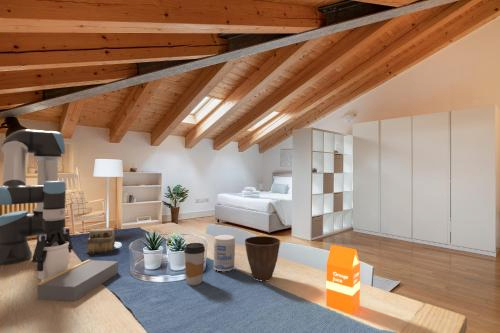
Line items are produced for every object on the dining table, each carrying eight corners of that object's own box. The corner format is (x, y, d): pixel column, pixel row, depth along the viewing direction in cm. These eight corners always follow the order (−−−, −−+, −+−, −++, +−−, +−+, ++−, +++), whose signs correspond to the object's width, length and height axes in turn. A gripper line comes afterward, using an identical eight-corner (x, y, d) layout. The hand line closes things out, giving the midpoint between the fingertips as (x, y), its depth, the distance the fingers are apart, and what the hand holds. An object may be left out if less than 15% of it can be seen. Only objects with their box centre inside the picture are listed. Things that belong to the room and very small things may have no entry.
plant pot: (238, 280, 115) (238, 242, 115) (254, 269, 129) (254, 234, 129) (271, 288, 108) (271, 247, 108) (284, 275, 122) (285, 238, 122)
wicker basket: (88, 247, 160) (88, 227, 160) (115, 245, 165) (115, 226, 165) (81, 255, 146) (82, 233, 146) (111, 253, 150) (111, 232, 150)
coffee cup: (208, 280, 116) (209, 244, 116) (196, 288, 108) (197, 249, 108) (192, 276, 119) (192, 241, 119) (179, 284, 112) (179, 246, 112)
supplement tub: (216, 274, 122) (217, 240, 122) (211, 267, 131) (211, 235, 131) (237, 271, 126) (237, 238, 126) (230, 264, 135) (231, 233, 135)
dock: (88, 271, 124) (88, 259, 124) (118, 272, 123) (118, 260, 123) (37, 298, 98) (37, 283, 98) (74, 301, 97) (74, 285, 97)
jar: (52, 287, 108) (53, 248, 108) (30, 284, 110) (30, 246, 110) (75, 276, 118) (75, 241, 118) (54, 274, 120) (54, 239, 120)
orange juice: (335, 297, 101) (335, 242, 101) (360, 305, 96) (360, 247, 96) (325, 305, 95) (326, 247, 95) (351, 314, 90) (352, 252, 90)
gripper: (38, 224, 102) (37, 285, 102) (82, 214, 125) (82, 264, 125) (19, 224, 103) (19, 284, 103) (67, 214, 126) (66, 263, 126)
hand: (53, 273), depth 114 cm, fingers closed on jar, 10 cm apart
